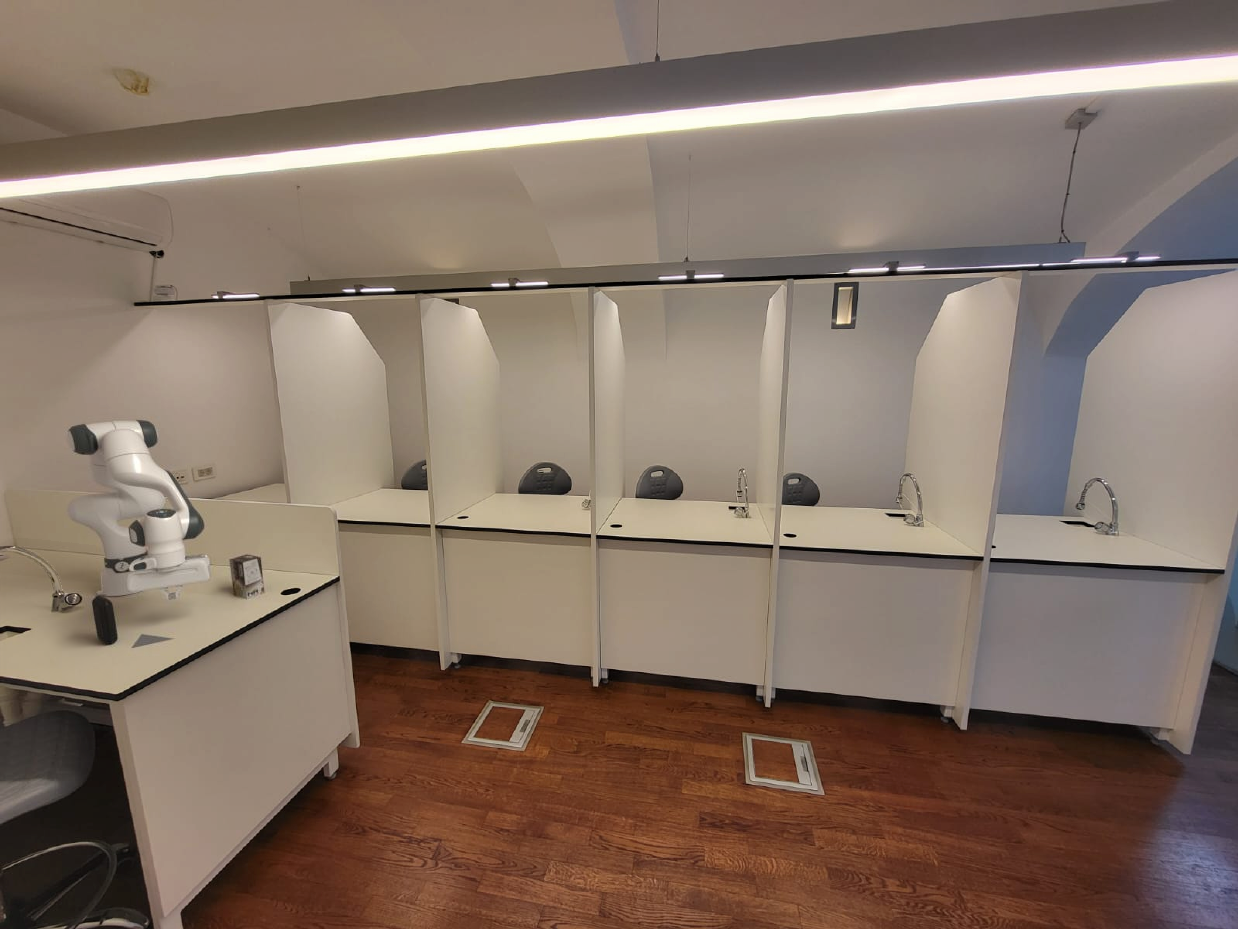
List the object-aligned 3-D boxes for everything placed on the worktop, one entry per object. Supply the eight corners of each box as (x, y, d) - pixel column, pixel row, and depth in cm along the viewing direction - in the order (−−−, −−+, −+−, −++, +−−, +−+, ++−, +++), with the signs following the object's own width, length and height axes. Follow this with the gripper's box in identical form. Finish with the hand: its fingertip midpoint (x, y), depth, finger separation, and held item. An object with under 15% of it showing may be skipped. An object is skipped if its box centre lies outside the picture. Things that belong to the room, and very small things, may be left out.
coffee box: (266, 597, 181) (261, 557, 179) (247, 604, 176) (242, 562, 173) (252, 593, 185) (247, 553, 183) (233, 599, 179) (228, 558, 177)
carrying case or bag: (95, 639, 150) (88, 595, 148) (108, 635, 152) (102, 592, 150) (106, 648, 144) (99, 602, 142) (120, 644, 147) (113, 599, 145)
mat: (153, 620, 162) (153, 618, 162) (234, 605, 174) (234, 604, 174) (132, 649, 144) (131, 647, 144) (224, 630, 156) (224, 628, 155)
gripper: (210, 550, 163) (215, 588, 165) (127, 561, 152) (133, 601, 154) (207, 556, 157) (212, 595, 159) (121, 567, 146) (127, 609, 148)
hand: (173, 598), depth 156 cm, fingers closed
